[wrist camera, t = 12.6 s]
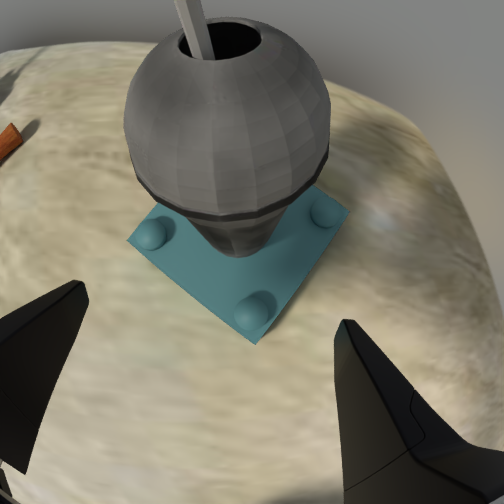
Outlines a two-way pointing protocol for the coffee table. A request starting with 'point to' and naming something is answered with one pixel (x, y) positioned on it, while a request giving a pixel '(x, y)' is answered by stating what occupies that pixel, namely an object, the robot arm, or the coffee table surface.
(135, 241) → the base brick
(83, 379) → the coffee table surface
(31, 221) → the coffee table surface
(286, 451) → the coffee table surface
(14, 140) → the kendama
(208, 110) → the beverage cup
